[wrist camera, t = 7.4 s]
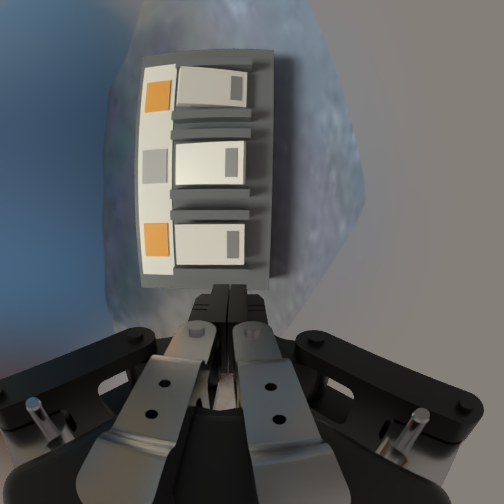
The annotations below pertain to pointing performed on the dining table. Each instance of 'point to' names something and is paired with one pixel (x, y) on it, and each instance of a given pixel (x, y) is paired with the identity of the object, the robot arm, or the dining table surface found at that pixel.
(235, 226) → the switch
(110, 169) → the dining table surface
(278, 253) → the dining table surface
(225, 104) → the switch
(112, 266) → the dining table surface
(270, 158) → the switch unit
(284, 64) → the dining table surface
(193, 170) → the switch mid
